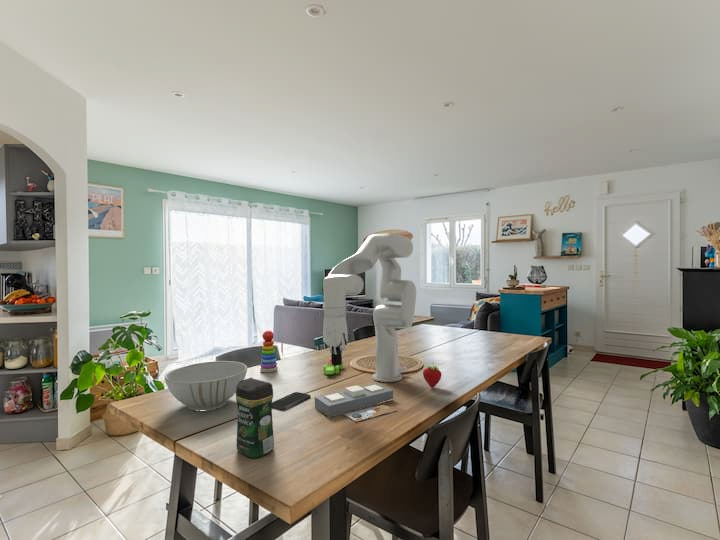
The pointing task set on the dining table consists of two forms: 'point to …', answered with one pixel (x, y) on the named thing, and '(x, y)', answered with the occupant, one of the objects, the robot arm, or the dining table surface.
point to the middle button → (354, 391)
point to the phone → (290, 401)
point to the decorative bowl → (205, 383)
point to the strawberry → (432, 375)
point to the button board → (352, 401)
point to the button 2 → (373, 388)
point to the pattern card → (361, 413)
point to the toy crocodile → (332, 368)
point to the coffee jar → (254, 417)
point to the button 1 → (334, 397)
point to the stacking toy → (268, 354)
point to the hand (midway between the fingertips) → (336, 364)
